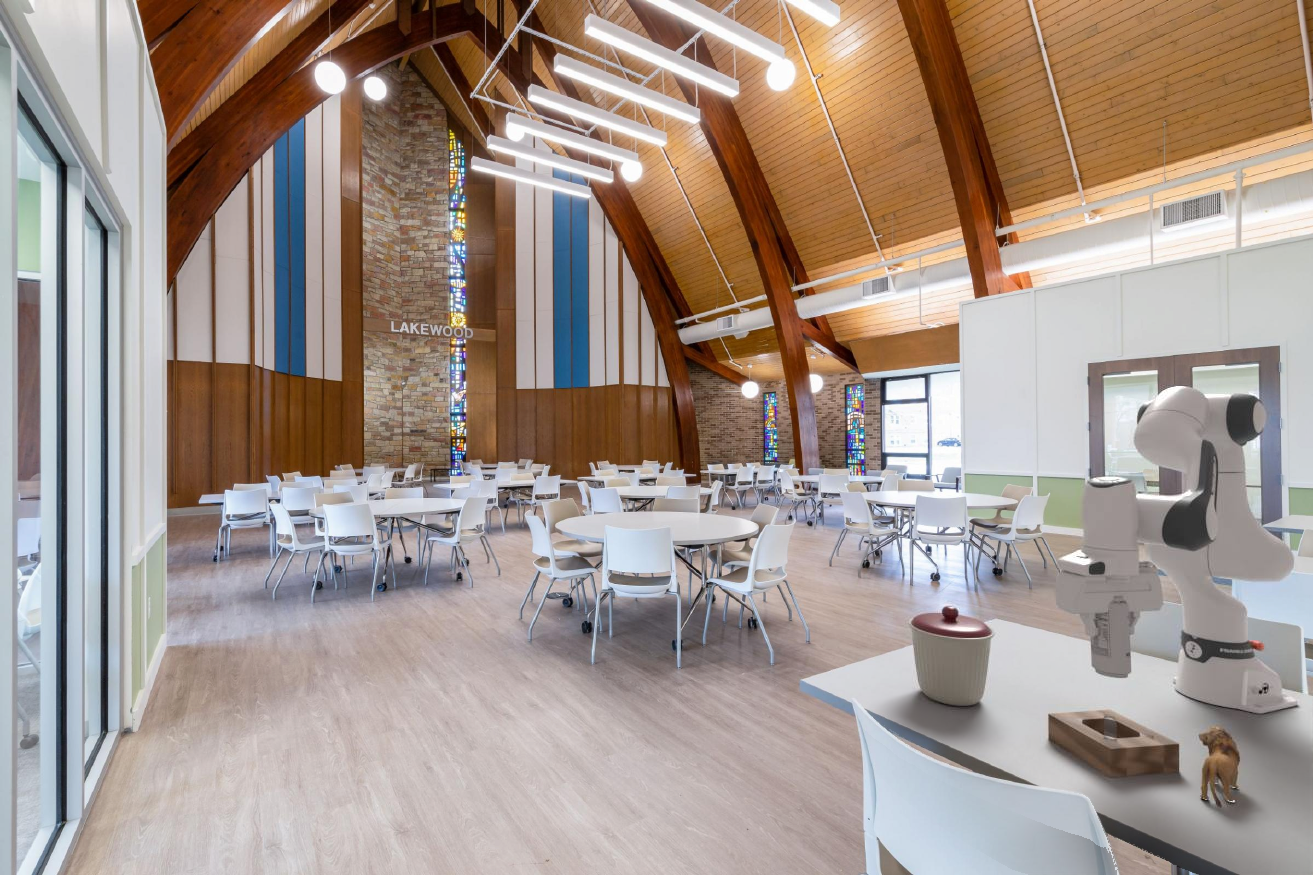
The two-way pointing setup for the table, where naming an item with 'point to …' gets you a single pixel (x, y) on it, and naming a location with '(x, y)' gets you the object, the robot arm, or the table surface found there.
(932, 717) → the table surface
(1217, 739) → the lion figurine
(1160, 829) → the table surface
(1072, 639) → the table surface
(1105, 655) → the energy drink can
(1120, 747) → the block
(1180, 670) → the robot arm
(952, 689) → the canister
